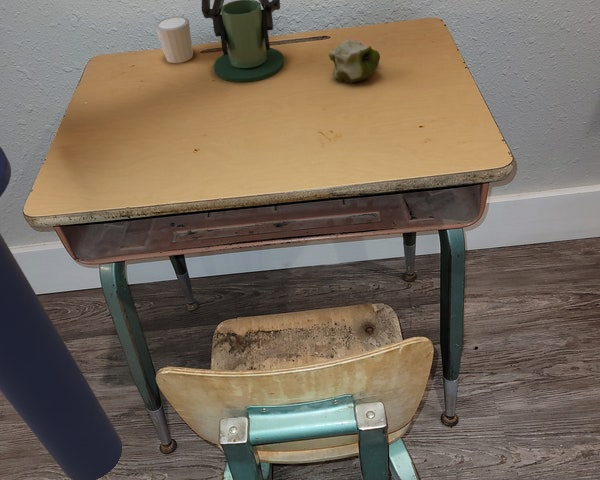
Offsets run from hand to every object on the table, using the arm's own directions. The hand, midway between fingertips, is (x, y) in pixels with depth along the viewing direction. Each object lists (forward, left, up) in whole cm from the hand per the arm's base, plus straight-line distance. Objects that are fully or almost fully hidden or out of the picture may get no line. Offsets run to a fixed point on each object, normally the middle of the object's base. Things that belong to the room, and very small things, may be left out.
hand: (246, 49), depth 113 cm
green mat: (+1, +3, -5) cm, 6 cm away
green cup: (+1, +3, -4) cm, 5 cm away
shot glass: (-9, +16, -5) cm, 19 cm away
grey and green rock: (+15, -14, -5) cm, 21 cm away
